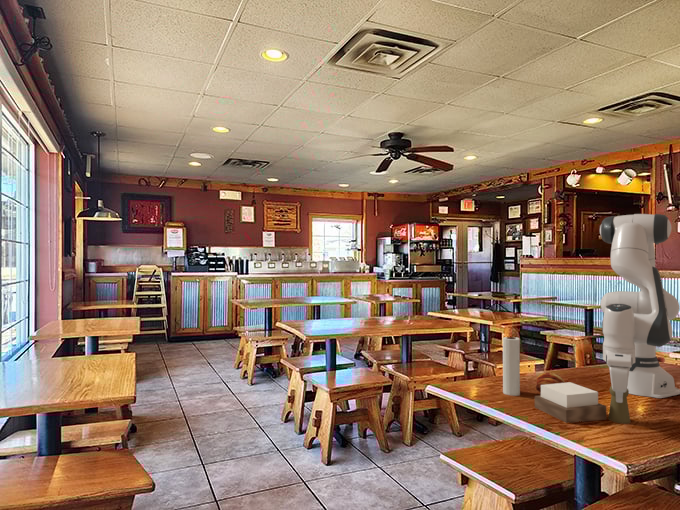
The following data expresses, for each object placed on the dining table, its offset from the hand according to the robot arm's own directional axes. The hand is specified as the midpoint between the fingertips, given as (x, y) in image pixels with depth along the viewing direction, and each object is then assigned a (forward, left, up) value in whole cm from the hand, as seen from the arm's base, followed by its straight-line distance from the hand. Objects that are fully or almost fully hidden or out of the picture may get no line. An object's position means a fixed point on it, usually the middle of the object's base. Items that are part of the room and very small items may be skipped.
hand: (619, 399), depth 146 cm
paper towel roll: (+16, -33, -7) cm, 37 cm away
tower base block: (+11, -9, -7) cm, 16 cm away
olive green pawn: (0, 0, -7) cm, 7 cm away
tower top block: (+11, -9, -2) cm, 15 cm away
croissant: (-2, -31, -7) cm, 32 cm away
